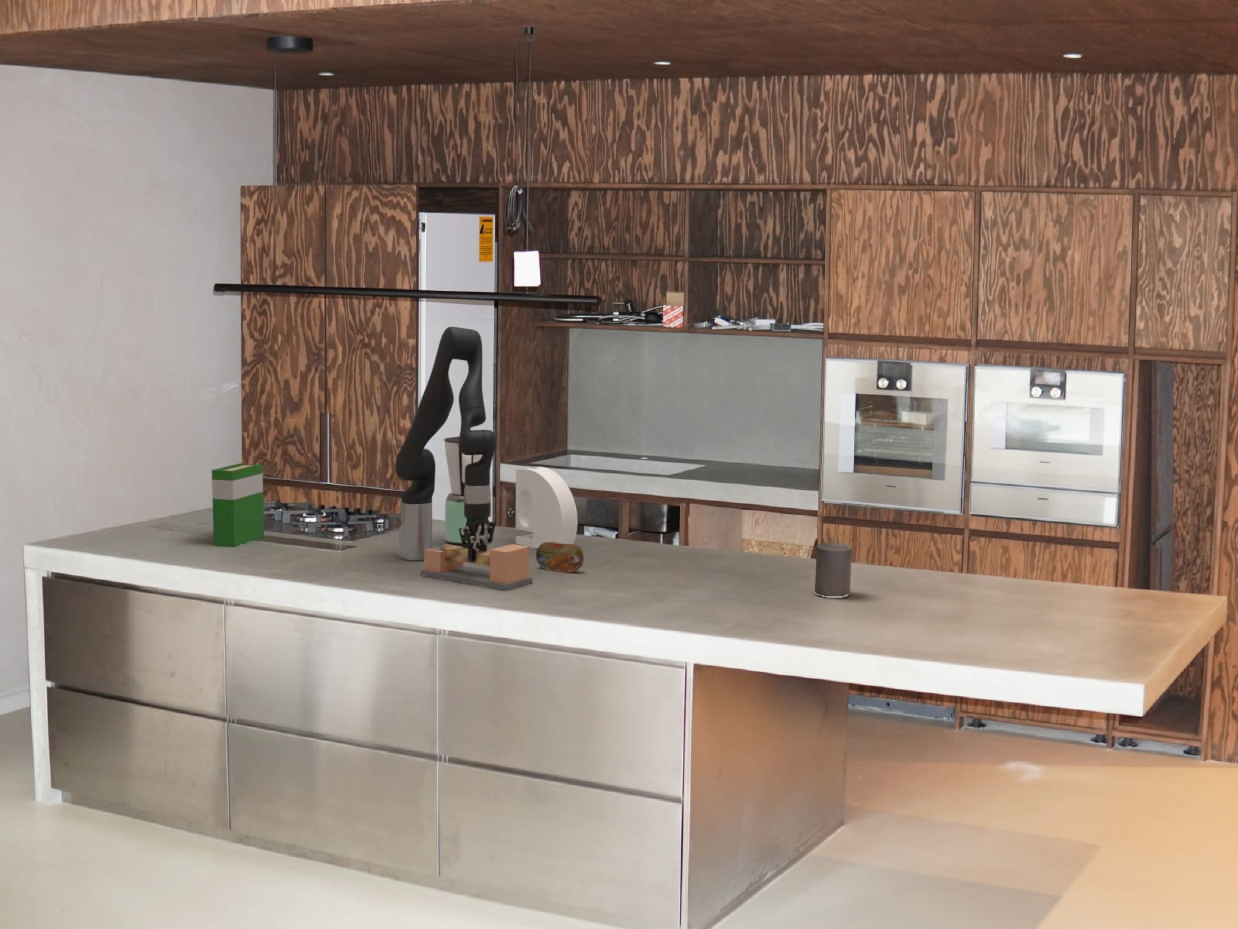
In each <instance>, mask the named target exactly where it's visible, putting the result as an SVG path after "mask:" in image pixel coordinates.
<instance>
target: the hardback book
mask: <svg viewBox="0 0 1238 929" xmlns="http://www.w3.org/2000/svg"><path fill="white" fill-rule="evenodd" d="M263 475H264V474H263V463H256V464H254V465H248V464H247V465H246V464H245V462H240V463H236V464H232V465H228V466H227V465H226V466H223V467H220V468H219V467H218V468H214V469H212V470H211V486H212V488H211V489H212V490H211V493H212V495H211V496H212V522H213V523H212V524H213V527H212V529H213V532H212V533H213V546H214V547H225V548H237V547H240V546H241V545H240V544H243V545H246V544H248V543H247V542H249V541H251V542H254V541H256V540H255V539H257V540H259V539H258V538H260V537H263V536H264V537H265V528H264V526H265V524H264V522H265V520H264V516H265V515H264V484H263V483H264V478H263V477H264V476H263ZM264 537H263V538H264ZM260 539H261V538H260ZM253 540H254V541H253ZM245 543H246V544H245ZM249 543H250V542H249ZM239 545H240V546H239Z"/></svg>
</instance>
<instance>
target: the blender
mask: <svg viewBox="0 0 1238 929" xmlns="http://www.w3.org/2000/svg"><path fill="white" fill-rule="evenodd" d="M443 441H444V449H445V450H444V452H445V457H446V464H447V469H448V476H449V483H450V489H451V492H450V493H448V495H447V496H446V499H445V504H444V505H445V506H444V508H445V510H444V512H445V513H444V534H445V535H444V540H445V543H446V544H448V545H455V546H461V547H463V546H462V541H461V537H460V533H459V528H463V527H465V526H466V522H467V518H466V517H465V516H464V489H465V467H466V465H468V464H470V463H474V462H477V461H479V460H480V459H481V457H482V455H464V454H463V453H462V452H461V451H460V449H459V446H458V442H459V436H453V437H451V436H450V437H446V438H444V439H443ZM471 537H472V538H474V536H471ZM482 540H483V539H482ZM466 543H467V541H466ZM472 543H473V540H472V541H471V544H472ZM479 546H480V545H479V541H477V543H476V548H475V549H479ZM463 548H464V547H463Z"/></svg>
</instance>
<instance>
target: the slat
mask: <svg viewBox="0 0 1238 929" xmlns="http://www.w3.org/2000/svg"><path fill="white" fill-rule="evenodd" d="M440 551H445V559H450V560H456V561H462V562H463V563H469V564H473V565H479V566H480V565H481V566H486V567H490V551H488V550H487V551H480V550H479V549H476V561H475V562H470V561H469V560H468V548H467V547H463V548H462V546H461V547H456V546H446V547H443V546H442V547H440Z"/></svg>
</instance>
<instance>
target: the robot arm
mask: <svg viewBox="0 0 1238 929" xmlns="http://www.w3.org/2000/svg"><path fill="white" fill-rule="evenodd" d="M453 360H456V361H457V360H458V361H464V362H466V364H467V367H468V369H467V370H468V371H467V375H466V378H465V380H464V382H463V384H462V386H461V388H460V390H459V394H458V406H459V413H460V430H459V435H458V437H459V442H458V446H459V449H460V451H461V452H462V453H463V454H464V455H482V457H481V459H480V460H479V461H477V462H474V463H470V464H468V465H466V467H465V489H464V516H465V517H466V518H467V522H466V526H465V527H463V528H459V533H460V537H461V541H462V546H463V548H468V560H469V561H470V562H475V561H476V550H477V548H476V543H477V541H479V545H480V546H479V548H478V550H480V551H487V552H488V546H489V544H491V543H492V542H493V538H494V534H495V529H496V524H497V523H496V522H494V521H489V520H490V519H489V518H490V517H491V515H492V513H491V512H492V506H491V505H492V493H491V492H492V491H491V466H492V462H493V458H494V454H495V450H496V447H497V436H496V434H495V433H494V431H492V429H471V428H474V427H475V428H476V427H478V426H481V425H483V424H484V423H485V422H486V419H487V413H486V408H485V402H484V401H485V400H484V392H483V342H482V337H481V335H480V333H479V332H478V330H475V329H470V328H465V327H457V326H447V327H446V329H445V330H444V331H443V333H442V335H441V338H440V339H439V342H438V347H437V351H436V354H435V358H434V362H433V366H432V369H431V372H430V376H429V378H428V381H427V383H426V386H425V388H424V392H423V393H422V396H421V399H420V401H419V403H418V406H417V410H416V413H415V415H414V418H413V420H412V422H411V426H410V429H409V431H408V433H407V436H406V438H405V439H404V441H403V442H402V443H403V444H402V445H401V447H400V449H399V451H398V452H397V455H396V459H395V465H394V466H395V467H394V468H395V473H396V475H397V477H398V479H400V480H401V481H405V482H407V481H409V482H411V481H412V482H411V484H410V486H409V487H408V488H406V489H405V490H403V491H402V492H401V498H400V499H401V525H400V526H399V527H398V552H399V553H398V554H399V558H401V559H403V560H406V561H424V550H425V549H433V496H434V493H435V487H436V486H435V484H436V461H435V456H434V454H433V453H432V452H431V450H429V449H428V448H425V447H426V446H427V444H428V442H430V440H431V439H432V438H433V437H434V436H435V435H436V434H437V433H438V432H439V430H440V429H441V428H442V427H443V426H444V425H445V424H446V422H447V420H448V418H449V416H450V413H451V410H452V407H453V405H454V401H455V398H454V397H455V395H454V392H453V388H452V384H451V381H450V375H449V372H450V368H451V367H450V366H451V364H452V361H453ZM471 536H474V538H472V537H471ZM482 539H483V540H482ZM472 540H473V543H472V544H471V541H472ZM466 541H467V543H466ZM462 546H461V547H462Z"/></svg>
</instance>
